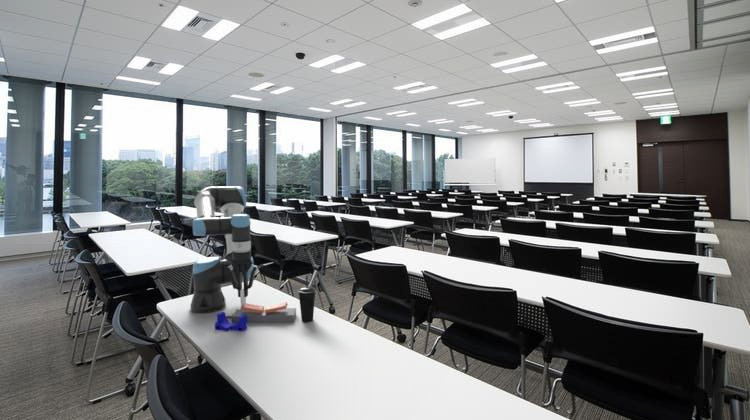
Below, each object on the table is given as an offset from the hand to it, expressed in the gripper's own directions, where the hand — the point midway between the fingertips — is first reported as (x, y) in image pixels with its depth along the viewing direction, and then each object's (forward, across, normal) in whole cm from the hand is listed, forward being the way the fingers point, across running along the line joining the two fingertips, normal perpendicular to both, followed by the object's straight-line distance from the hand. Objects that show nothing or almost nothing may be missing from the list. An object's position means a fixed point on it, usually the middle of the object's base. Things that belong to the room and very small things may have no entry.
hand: (243, 303), depth 156 cm
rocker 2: (+3, +14, 0) cm, 14 cm away
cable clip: (+8, -3, -9) cm, 12 cm away
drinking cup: (+7, +28, -2) cm, 29 cm away
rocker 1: (+3, +4, 0) cm, 5 cm away
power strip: (+7, +6, 0) cm, 10 cm away
